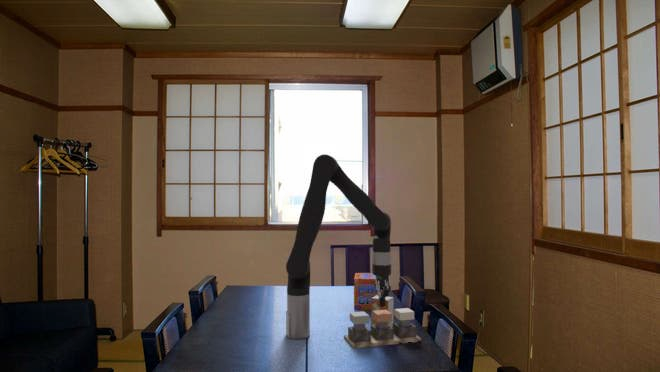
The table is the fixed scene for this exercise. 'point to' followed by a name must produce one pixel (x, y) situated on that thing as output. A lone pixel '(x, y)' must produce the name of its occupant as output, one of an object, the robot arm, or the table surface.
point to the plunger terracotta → (382, 318)
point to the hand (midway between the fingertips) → (382, 306)
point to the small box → (382, 308)
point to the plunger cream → (404, 316)
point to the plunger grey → (359, 320)
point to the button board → (381, 336)
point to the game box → (364, 290)
